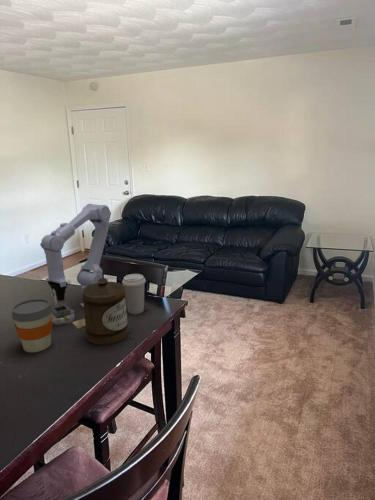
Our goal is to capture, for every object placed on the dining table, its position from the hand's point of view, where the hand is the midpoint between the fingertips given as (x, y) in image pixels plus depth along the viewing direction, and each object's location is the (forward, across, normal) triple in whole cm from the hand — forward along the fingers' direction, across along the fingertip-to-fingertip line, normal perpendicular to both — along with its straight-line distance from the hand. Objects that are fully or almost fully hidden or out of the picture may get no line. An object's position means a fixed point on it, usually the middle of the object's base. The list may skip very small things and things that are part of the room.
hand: (59, 298), depth 144 cm
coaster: (+9, +8, +5) cm, 14 cm away
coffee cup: (+10, +12, +27) cm, 31 cm away
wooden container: (+10, +22, +9) cm, 26 cm away
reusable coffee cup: (+10, +14, -14) cm, 21 cm away
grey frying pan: (+9, -1, -4) cm, 10 cm away
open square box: (+6, +1, 0) cm, 7 cm away
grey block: (+3, 0, 0) cm, 3 cm away
